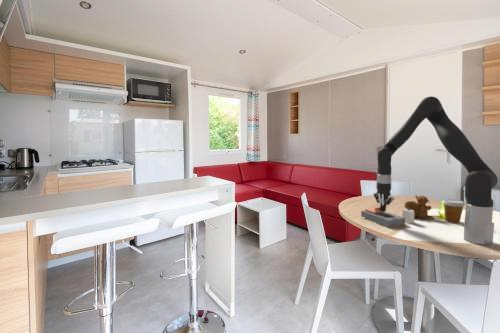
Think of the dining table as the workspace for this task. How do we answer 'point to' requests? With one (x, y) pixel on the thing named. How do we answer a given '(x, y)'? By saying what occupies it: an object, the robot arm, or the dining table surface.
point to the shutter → (375, 210)
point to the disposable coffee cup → (453, 210)
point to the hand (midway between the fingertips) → (382, 211)
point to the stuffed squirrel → (419, 207)
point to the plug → (408, 215)
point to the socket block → (384, 218)
